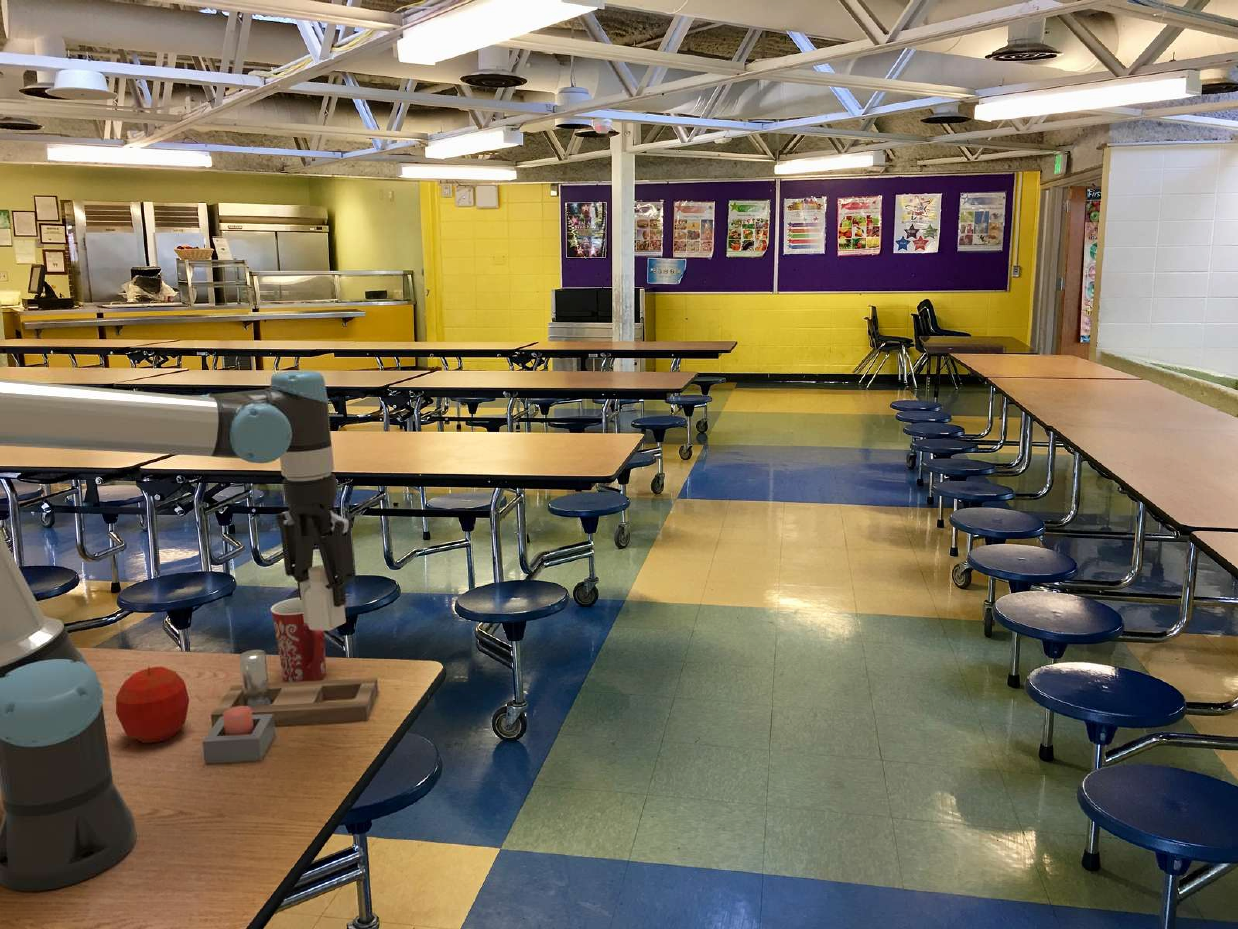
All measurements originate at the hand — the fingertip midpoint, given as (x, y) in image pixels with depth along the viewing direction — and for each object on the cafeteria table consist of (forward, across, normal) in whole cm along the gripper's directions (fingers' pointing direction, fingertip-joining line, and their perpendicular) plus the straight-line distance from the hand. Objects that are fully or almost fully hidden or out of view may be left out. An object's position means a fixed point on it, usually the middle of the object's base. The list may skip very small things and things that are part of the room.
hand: (324, 622), depth 146 cm
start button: (+16, +8, +12) cm, 21 cm away
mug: (+18, +18, -11) cm, 27 cm away
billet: (+17, +16, +2) cm, 23 cm away
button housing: (+17, +8, +12) cm, 22 cm away
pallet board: (+17, +10, -2) cm, 20 cm away
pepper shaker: (+1, 0, 0) cm, 1 cm away
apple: (+17, +23, +15) cm, 32 cm away
